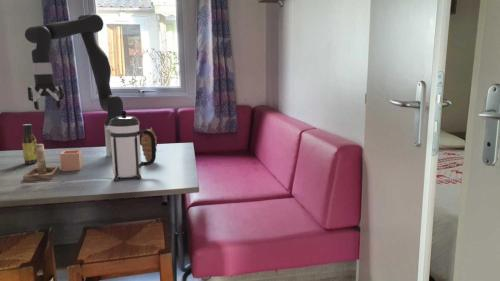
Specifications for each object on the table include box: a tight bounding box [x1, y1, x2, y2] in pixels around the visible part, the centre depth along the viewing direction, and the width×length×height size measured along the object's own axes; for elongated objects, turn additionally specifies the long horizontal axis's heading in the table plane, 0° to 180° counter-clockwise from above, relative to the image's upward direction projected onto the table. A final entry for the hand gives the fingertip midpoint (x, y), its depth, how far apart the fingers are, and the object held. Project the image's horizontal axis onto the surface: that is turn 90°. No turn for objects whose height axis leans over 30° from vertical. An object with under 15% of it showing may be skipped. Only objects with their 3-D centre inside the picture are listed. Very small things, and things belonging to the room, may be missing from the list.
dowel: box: [35, 143, 47, 175], centre depth 166 cm, size 3×3×14 cm
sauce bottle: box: [21, 123, 37, 165], centre depth 191 cm, size 6×6×20 cm
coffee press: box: [106, 110, 157, 183], centre depth 166 cm, size 17×16×30 cm
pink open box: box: [59, 149, 84, 172], centre depth 179 cm, size 8×8×9 cm
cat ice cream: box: [140, 126, 158, 162], centre depth 193 cm, size 9×8×18 cm
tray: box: [22, 165, 61, 184], centre depth 167 cm, size 11×14×3 cm
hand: (48, 109), depth 171 cm, fingers open, 8 cm apart
